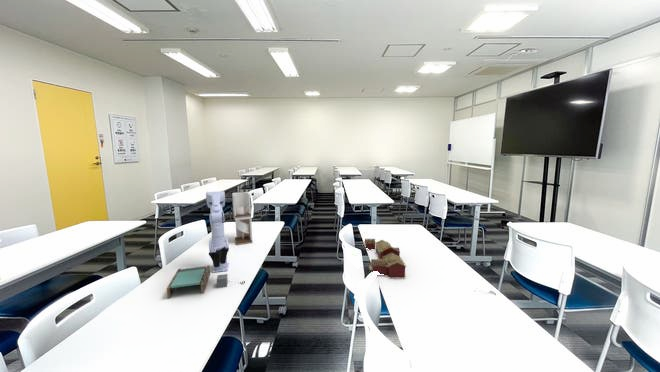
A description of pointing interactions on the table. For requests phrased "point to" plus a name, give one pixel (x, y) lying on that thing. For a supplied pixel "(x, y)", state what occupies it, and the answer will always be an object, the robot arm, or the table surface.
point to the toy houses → (386, 259)
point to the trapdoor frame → (203, 282)
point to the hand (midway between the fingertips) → (220, 265)
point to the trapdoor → (188, 277)
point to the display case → (242, 217)
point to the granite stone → (222, 281)
